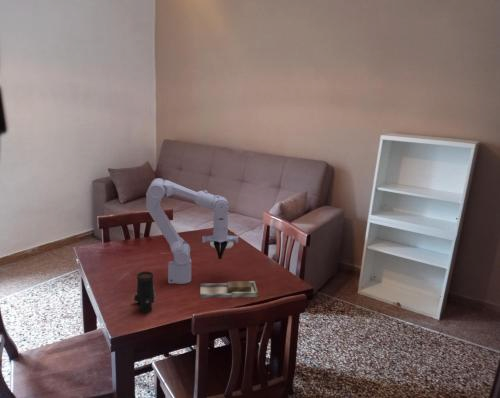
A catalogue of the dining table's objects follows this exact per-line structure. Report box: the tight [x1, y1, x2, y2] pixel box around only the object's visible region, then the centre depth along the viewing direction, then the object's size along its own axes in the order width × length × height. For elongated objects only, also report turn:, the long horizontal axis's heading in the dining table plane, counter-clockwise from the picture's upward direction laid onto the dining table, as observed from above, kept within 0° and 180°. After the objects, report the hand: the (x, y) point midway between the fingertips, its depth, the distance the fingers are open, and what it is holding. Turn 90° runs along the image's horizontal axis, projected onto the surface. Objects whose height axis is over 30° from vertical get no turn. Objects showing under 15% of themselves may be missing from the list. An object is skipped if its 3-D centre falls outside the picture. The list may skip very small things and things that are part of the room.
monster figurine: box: [209, 230, 235, 250], centre depth 198 cm, size 12×12×10 cm
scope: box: [132, 271, 156, 314], centre depth 138 cm, size 8×14×10 cm
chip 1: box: [226, 281, 240, 293], centre depth 152 cm, size 4×4×3 cm
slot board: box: [199, 280, 259, 299], centre depth 152 cm, size 22×9×3 cm, turn 97°
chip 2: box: [239, 280, 251, 292], centre depth 153 cm, size 4×4×3 cm
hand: (219, 258), depth 159 cm, fingers closed
